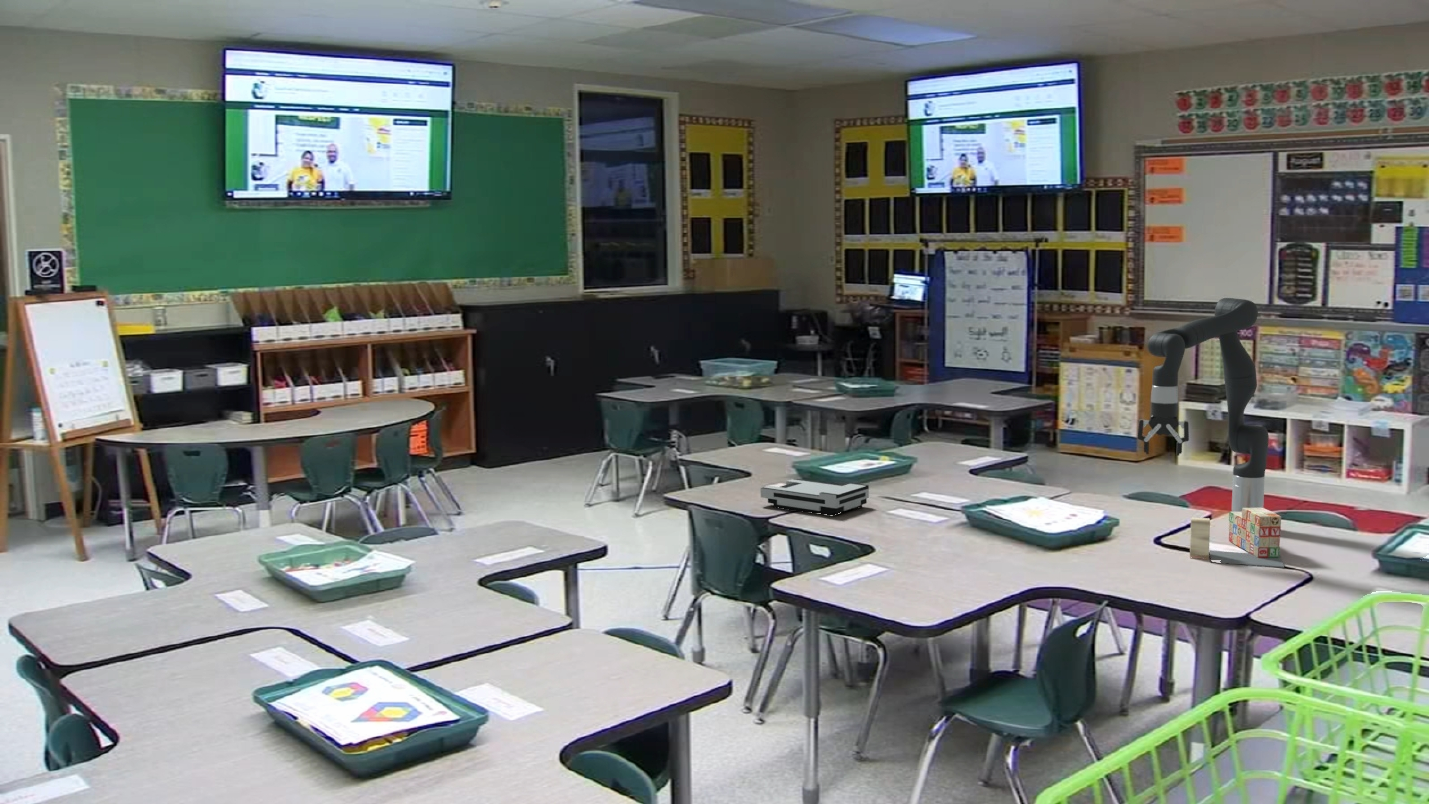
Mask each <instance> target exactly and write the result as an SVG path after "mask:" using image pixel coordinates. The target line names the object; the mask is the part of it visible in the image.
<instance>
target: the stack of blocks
mask: <svg viewBox="0 0 1429 804" xmlns="http://www.w3.org/2000/svg"><path fill="white" fill-rule="evenodd" d="M1228 522H1229V523H1228V524H1229V525H1228V532H1229V533H1228V542H1231V543H1232V544H1234V545H1235V546H1237V547H1239V548H1241V549H1243V550H1245V551H1246V552H1247V553H1251V554H1253V555H1255V556H1256V557H1279V555H1280V542H1281V541H1280V540H1281V529H1282V527H1281V525H1282V516H1281V515H1279V514H1277V513H1276V512H1275V511H1274V512H1273V511H1271V510H1269V509H1266V508H1265V507H1263V508H1242V512H1232V511H1229V514H1228Z"/></svg>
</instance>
